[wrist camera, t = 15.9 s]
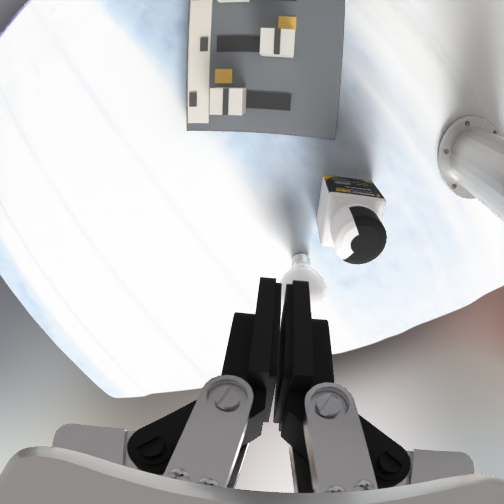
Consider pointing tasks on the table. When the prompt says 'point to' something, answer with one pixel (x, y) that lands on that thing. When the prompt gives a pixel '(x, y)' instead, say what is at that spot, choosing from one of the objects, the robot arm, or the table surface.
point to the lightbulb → (305, 273)
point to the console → (266, 65)
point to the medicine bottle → (351, 218)
